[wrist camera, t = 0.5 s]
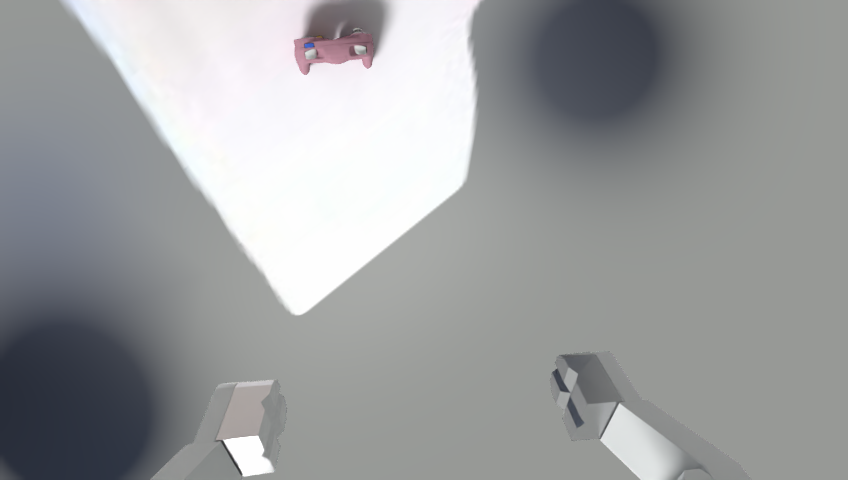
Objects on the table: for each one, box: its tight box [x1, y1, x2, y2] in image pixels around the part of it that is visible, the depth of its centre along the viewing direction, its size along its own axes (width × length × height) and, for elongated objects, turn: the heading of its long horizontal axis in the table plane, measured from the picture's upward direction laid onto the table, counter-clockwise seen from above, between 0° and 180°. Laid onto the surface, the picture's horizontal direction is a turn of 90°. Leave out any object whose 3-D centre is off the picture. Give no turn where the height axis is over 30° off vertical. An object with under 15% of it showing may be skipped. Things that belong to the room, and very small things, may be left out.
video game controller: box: [294, 28, 374, 75], centre depth 47 cm, size 10×5×7 cm, turn 88°
